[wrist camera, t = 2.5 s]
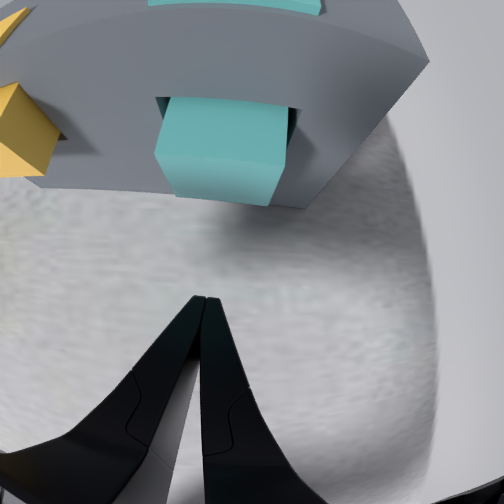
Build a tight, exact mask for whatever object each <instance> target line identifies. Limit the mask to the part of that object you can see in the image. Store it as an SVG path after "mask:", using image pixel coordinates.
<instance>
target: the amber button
mask: <svg viewBox="0 0 504 504" xmlns="http://www.w3.org/2000/svg"><path fill="white" fill-rule="evenodd" d="M60 133H61V131H60V130H59V129H58V128H57V127H56V126H55V124H54V123H53V122H52V121H51V120H50V119H49V118H48V117H47V116H46V114H45V113H44V112H43V111H42V110H41V109H40V108H39V107H38V105H37V104H36V103H35V102H34V101H33V100H32V99H31V97H30V96H29V95H28V94H27V93H26V92H25V90H24V89H23V88H22V87H21V86H20V84H19V83H18V82H17V81H16V82H13V83H11V84H8V85H5V86H3V87H0V178H2V177H21V176H45V174H46V171H47V168H48V165H49V162H50V159H51V156H52V153H53V151H54V148H55V145H56V143H57V140H58V138H59V135H60Z"/></svg>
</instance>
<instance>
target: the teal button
mask: <svg viewBox="0 0 504 504" xmlns="http://www.w3.org/2000/svg"><path fill="white" fill-rule="evenodd" d="M287 124H288V107H285V106H279V105H272V104H265V103H257V102H249V101H239V100H229V99H216V98H198V97H171V98H170V101H169V104H168V107H167V110H166V114H165V117H164V120H163V123H162V127H161V130H160V134H159V137H158V141H157V144H156V148H155V152H154V155H155V157H156V159H157V161H158V163H159V165H160V167H161V169H162V171H163V173H164V175H165V177H166V179H167V180H168V182H169V184H170V186H171V188H172V190H173V192H174V194H175V196H176V197H185V198H196V199H206V200H216V201H225V202H235V203H243V204H252V205H260V206H268V205H269V202H270V200H271V198H272V195H273V193H274V191H275V188H276V186H277V184H278V181H279V179H280V177H281V174H282V172H283V170H284V167H285V159H286V142H287Z"/></svg>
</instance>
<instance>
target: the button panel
mask: <svg viewBox="0 0 504 504" xmlns="http://www.w3.org/2000/svg"><path fill="white" fill-rule="evenodd" d="M428 63H429V59H428V57H427V55H426V52H425V50H424V48H423V46H422V44H421V42H420V40H419V38H418V36H417V34H416V32H415V30H414V28H413V26H412V24H411V23H410V21H409V19H408V17H407V16H406V14H405V12H404V10H403V9H402V7H401V5H400V4H399V2H398V1H397V0H14V1H12V2H10V3H9V4H7V5H5V6H4V7H2V8H0V87H3V86H5V85H8V84H11V83H13V82H16V81H17V82H18V83H19V84H20V86H21V87H22V88H23V89H24V90H25V92H26V93H27V94H28V95H29V96H30V97H31V99H32V100H33V101H34V102H35V103H36V104H37V105H38V107H39V108H40V109H41V110H42V111H43V112H44V113H45V114H46V116H47V117H48V118H49V119H50V120H51V121H52V122H53V123H54V124H55V126H56V127H57V128H58V129H59V130H60V131H61V133H60V135H59V138H58V140H57V143H56V145H55V148H54V151H53V153H52V156H51V159H50V162H49V165H48V168H47V171H46V174H45V176H23V177H25V178H26V179H28V180H30V181H31V182H33V183H34V184H36V185H37V186H39V187H40V188H69V189H98V190H119V191H136V192H151V193H164V194H174V192H173V190H172V188H171V186H170V184H169V182H168V180H167V179H166V177H165V175H164V173H163V171H162V169H161V167H160V165H159V163H158V161H157V159H156V157H155V155H154V152H155V148H156V144H157V141H158V137H159V134H160V130H161V127H162V123H163V120H164V117H165V114H166V110H167V107H168V104H169V101H170V98H171V97H198V98H216V99H229V100H239V101H249V102H257V103H265V104H272V105H279V106H285V107H288V124H287V142H286V159H285V167H284V170H283V172H282V174H281V177H280V179H279V181H278V184H277V186H276V188H275V191H274V193H273V195H272V198H271V200H270V202H269V204H271V205H279V206H286V207H294V208H301V209H305V208H306V207H307V206H308V205H309V204H310V203H311V201H312V200H313V199H314V198H315V197H316V196H317V195H318V193H319V192H320V191H321V190H322V189H323V188H324V186H325V185H326V184H327V183H328V182H329V181H330V179H331V178H332V177H333V176H334V175H335V174H336V172H337V171H338V170H339V169H340V168H341V167H342V165H343V164H344V163H345V162H346V161H347V160H348V158H349V157H350V156H351V155H352V154H353V153H354V151H355V150H356V149H357V148H358V147H359V146H360V144H361V143H362V142H363V141H364V140H365V138H366V137H367V136H368V135H369V134H370V133H371V131H372V130H373V129H374V128H375V127H376V126H377V124H378V123H379V122H380V121H381V120H382V118H383V117H384V116H385V115H386V114H387V112H388V111H389V110H390V109H391V108H392V106H393V105H394V104H395V103H396V102H397V101H398V99H399V98H400V97H401V96H402V95H403V93H404V92H405V91H406V90H407V89H408V87H409V86H410V85H411V84H412V82H413V81H414V80H415V79H416V78H417V76H418V75H419V74H420V73H421V71H422V70H423V69H424V68H425V66H426V65H427V64H428Z"/></svg>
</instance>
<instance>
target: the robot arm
mask: <svg viewBox="0 0 504 504" xmlns="http://www.w3.org/2000/svg"><path fill="white" fill-rule="evenodd" d="M199 365H200V413H201V439H202V456H203V476H204V494H205V504H328V503H327V502H326V501H325V500H324V499H322V498H321V497H320V496H319V495H318V494H317V493H316V492H315V491H314V490H313V489H311V488H310V487H309V486H308V485H307V484H306V483H305V482H304V481H303V480H302V479H301V478H300V477H299V476H298V474H297V473H296V472H295V471H294V469H293V468H292V467H291V465H290V464H289V462H288V461H287V459H286V457H285V456H284V454H283V452H282V451H281V449H280V447H279V446H278V444H277V442H276V441H275V439H274V437H273V435H272V434H271V432H270V430H269V428H268V426H267V425H266V423H265V421H264V419H263V417H262V415H261V413H260V410H259V408H258V406H257V403H256V401H255V398H254V396H253V393H252V390H251V388H250V385H249V382H248V380H247V377H246V374H245V371H244V368H243V366H242V363H241V360H240V357H239V354H238V351H237V348H236V346H235V343H234V340H233V337H232V334H231V331H230V328H229V325H228V322H227V319H226V316H225V313H224V310H223V306H222V303H221V300H220V299H219V298H213V297H207V299H206V297H205V296H197V295H194V296H193V297H192V298H191V299H190V300H189V301H188V302H187V303H186V305H185V306H184V307H183V308H182V309H181V311H180V312H179V313H178V314H177V315H176V316H175V318H174V319H173V320H172V321H171V322H170V324H169V325H168V326H167V327H166V328H165V329H164V331H163V332H162V333H161V334H160V335H159V337H158V338H157V339H156V340H155V341H154V343H153V344H152V345H151V346H150V347H149V349H148V350H147V351H146V352H145V353H144V355H143V356H142V357H141V358H140V359H139V361H138V362H137V363H136V364H135V365H134V367H133V368H132V370H130V371H129V372H128V374H127V375H126V376H125V377H124V379H123V380H122V381H121V382H120V383H119V384H118V385H117V387H116V388H115V389H114V390H113V391H112V392H111V393H110V394H109V395H108V396H107V397H106V398H105V399H104V400H103V401H102V402H101V403H100V404H99V405H98V406H97V407H96V408H94V409H93V410H92V411H91V412H90V413H89V414H88V415H87V416H86V417H85V418H84V419H83V420H82V421H81V422H79V423H78V424H77V425H76V426H75V427H74V428H73V429H71V430H70V431H69V432H67V433H66V434H64V435H62V436H60V437H58V438H55V439H52V440H49V441H47V442H44V443H41V444H38V445H35V446H32V447H29V448H26V449H22V450H19V451H16V452H12V453H6V452H4V451H2V450H0V504H166V502H167V497H168V493H169V488H170V484H171V480H172V475H173V470H174V466H175V462H176V458H177V454H178V449H179V445H180V441H181V437H182V433H183V429H184V424H185V420H186V416H187V412H188V408H189V404H190V400H191V396H192V392H193V388H194V384H195V381H196V377H197V373H198V369H199ZM432 504H504V476H502V477H500V478H498V479H495V480H493V481H491V482H488V483H486V484H484V485H481V486H479V487H476V488H473V489H471V490H468V491H465V492H463V493H460V494H457V495H454V496H450V497H448V498H445V499H443V500H440V501H437V502H435V503H432Z"/></svg>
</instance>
